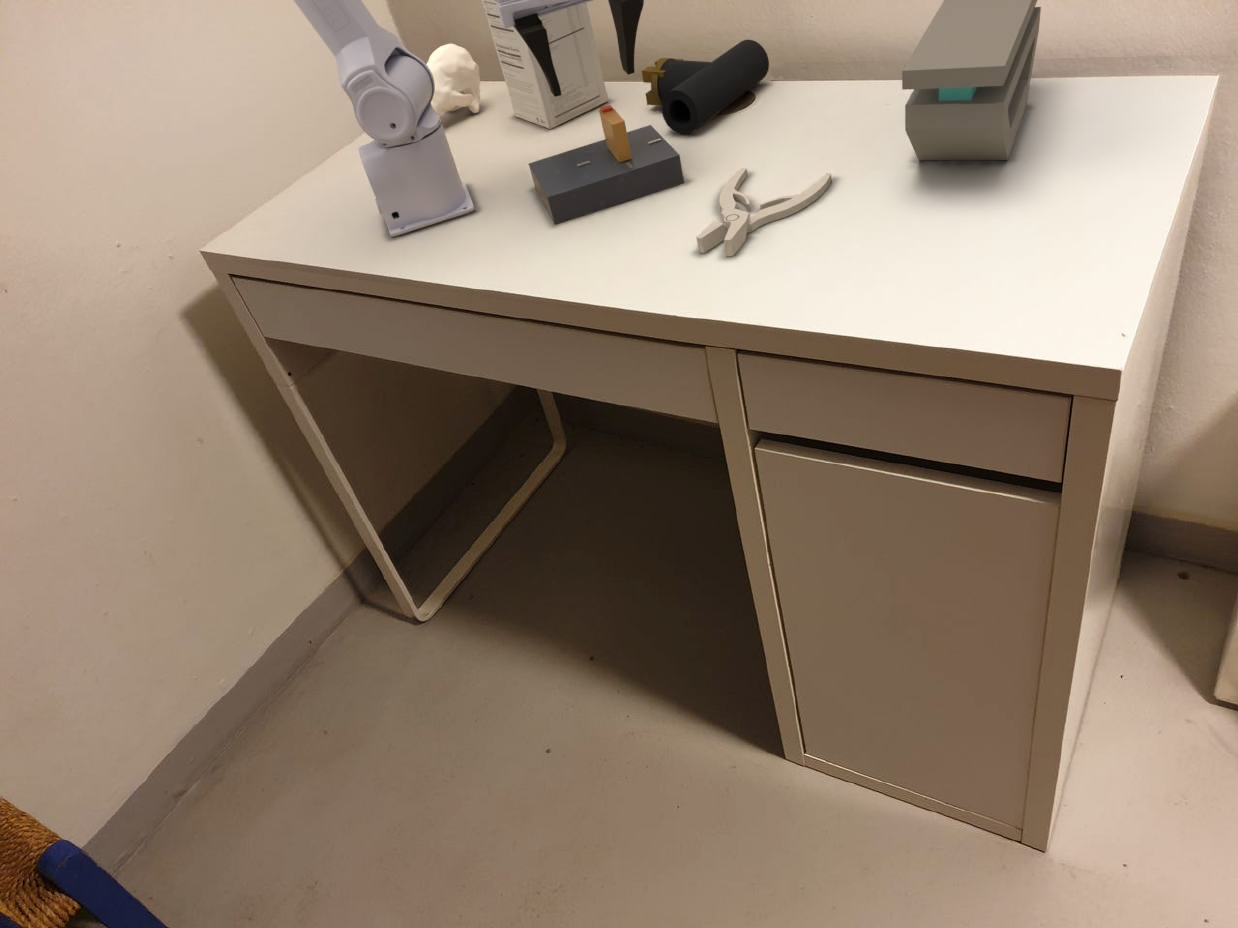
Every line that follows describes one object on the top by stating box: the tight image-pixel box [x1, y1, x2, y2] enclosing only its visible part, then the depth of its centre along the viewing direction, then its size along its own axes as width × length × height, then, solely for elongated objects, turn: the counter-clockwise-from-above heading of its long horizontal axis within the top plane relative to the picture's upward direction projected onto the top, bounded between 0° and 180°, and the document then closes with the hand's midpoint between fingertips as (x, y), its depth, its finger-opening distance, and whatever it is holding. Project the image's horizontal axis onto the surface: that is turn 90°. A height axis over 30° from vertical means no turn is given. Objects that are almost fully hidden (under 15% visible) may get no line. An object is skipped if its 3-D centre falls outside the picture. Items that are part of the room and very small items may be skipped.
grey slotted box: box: [901, 0, 1042, 161], centre depth 84 cm, size 25×8×11 cm, turn 154°
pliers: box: [696, 167, 832, 257], centre depth 84 cm, size 10×2×15 cm
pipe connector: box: [641, 39, 770, 136], centre depth 106 cm, size 12×5×15 cm
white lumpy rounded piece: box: [425, 43, 481, 116], centre depth 120 cm, size 6×8×12 cm
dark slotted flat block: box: [528, 124, 685, 225], centre depth 95 cm, size 14×10×3 cm
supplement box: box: [481, 0, 609, 130], centre depth 111 cm, size 10×9×17 cm
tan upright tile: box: [598, 104, 632, 162], centre depth 92 cm, size 5×1×4 cm, turn 15°
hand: (592, 82), depth 90 cm, fingers open, 7 cm apart
